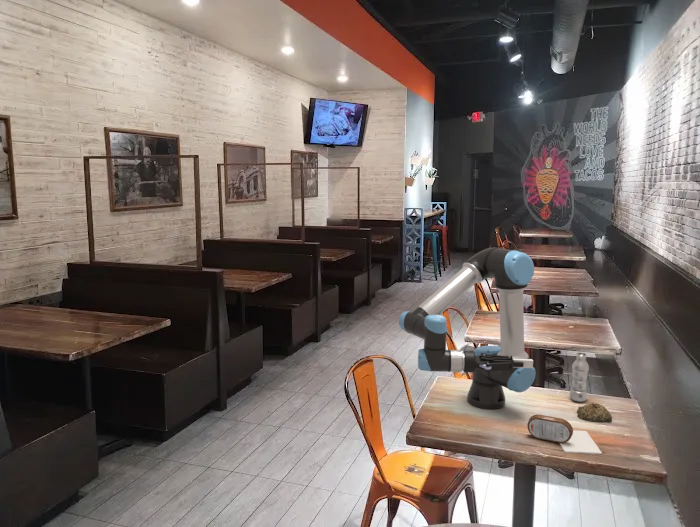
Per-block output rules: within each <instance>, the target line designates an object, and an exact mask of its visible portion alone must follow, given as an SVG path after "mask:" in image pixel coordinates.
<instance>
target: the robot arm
mask: <svg viewBox="0 0 700 527" xmlns="http://www.w3.org/2000/svg"><path fill="white" fill-rule="evenodd" d="M534 274H535V265H534V261H533V260H532V258H531V257H530V256H529V255H528V254H527V253H525V252H522V251H520V250H513V249H507V248H499V247H494V246H493V247H488V248H485V249H483V250H481V251H478V252H477V253H476V254H474V255H473V256H471V257H470V258H469V259H467V260H466V261H465V262H463V264H462V267H461V269H460V270H458V272H455V274H454V275H453V276H451V277H450V278H449V279H448V280H447V281H446V282H445V283H444V284H443V285H442V286H440V287H439V288H438V289H437V290H436V291H434V292H433V293H432V294H431V295H429V296H428V297H427V299H426V300H424V301H423V302H422V303H420V304H419V306H417V307H416V308H415V309H413V311H411V310H406V311H403V312H402V313H401V314H400V316H399V317H398V325H399V328H400V329H401V330H402V331H404V332H406V333H408V334H410V335H413V336H416V337H418V338H420V339H422V340H423V348H420V349H418V352H417V367H418V368H417V369H419V370H420V371H425V372H431V373H432V372H439V373H440V372H444V373H445V372H447V373H453V374H456V373H462V372H464V373H466V374H467V373H468V374H469V373H470V374H471V373H472V381H471V382H472V383H471V385H470V386H469V390H468V392H467V398H466V401H467V403H468V404H470V405H471V406H473V407H475V408H478V409H484V410H497V409H501V408H503V407H505V405H506V395H505V392H504V388H506V389H508V390H509V391H513V392H515V393H523V392H526V391H527V390H528V389H529V388H530V387H531V386H532V385H533V383H534V381H535V379H536V375H537V374H536V368H535V367H534V360H533V359H531V358H530V357H529V354H528V353H527V352H526V351H525V322H524V321H525V319H524V318H525V317H524V311H525V310H524V292H525V289H527V288H528V284H529V283H530V282H531V281H532V279H533V277H534ZM489 278H490V279H494V288H495V289H496V290H497V291H498V293H499V294H498V295H499V299H498V300H499V334H500V336H499V337H500V345H499V346H498V345H482V346H478V347H476V348H475V349H474V350H465V349H464V350H463V351H462V350H461V349H447V332H448V327H447V318H446V317H445V316H444V315H441V314H442V313H444V312H445V311H446V310H447V309H448V308H449V307H450V306H452V305H453V304H454V303H455V302H456V301H457V300H459V299H460V298H461V297H462V296H463V295H464V294H465V293H467V291H469V290H470V289H471V288H472V287H473V286H474V285H475V284H480V283H482V282H483V281H484V280H485V279H489ZM503 387H504V388H503Z"/></svg>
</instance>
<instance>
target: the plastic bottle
mask: <svg viewBox="0 0 700 527" xmlns="http://www.w3.org/2000/svg"><path fill="white" fill-rule="evenodd" d="M575 358H576V359H575V360H574V362H573V363H572V365H571V366H572V367H571V368H572V369H571V370H572V382H571V388H570V391H569V396H570V399H571V400H572V401H575V402H577V403H578V402H579V403H582V402H585V401H587V400H586V399H587V397H588V394H587V393H588V392H587V380H588V378H587V377H588V374H589V369H590V367H589V364H588V361H587V354H586V353H584V352H577V353H576V357H575Z"/></svg>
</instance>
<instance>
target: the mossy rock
mask: <svg viewBox="0 0 700 527" xmlns="http://www.w3.org/2000/svg"><path fill="white" fill-rule="evenodd" d="M576 414H577V415H576V416H577V418H579V419H580V420H584V421H588V422H595V423H596V422H598V423H611V422H612V418H613V416H612V414H611V413H610V411H609V410H608V409H607V408H606V407H605V406H603V405H602V404H600V403H594V402H591V403H590V404H589V403H587V404H585V405H583V406H582V405H581V406H578V408H577V411H576Z"/></svg>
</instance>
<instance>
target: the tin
mask: <svg viewBox="0 0 700 527" xmlns="http://www.w3.org/2000/svg"><path fill="white" fill-rule="evenodd" d="M526 426H527V427H526V428H527V430H528V432H529V434H530V435H531V436H532V437H534V438H536V439H537V440H543V441H547V442H554V443H559V444H560V443H566V442H568V441H569V440H570V439H571V437H572V435H573V430H574V429H573V426H572V424H571V423H570V422H569V421H568V420H567V419H564V418H561V417H555V416H550V415H544V414H533V415H531V416H530V417H529V419H528V422H527V425H526Z"/></svg>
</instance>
